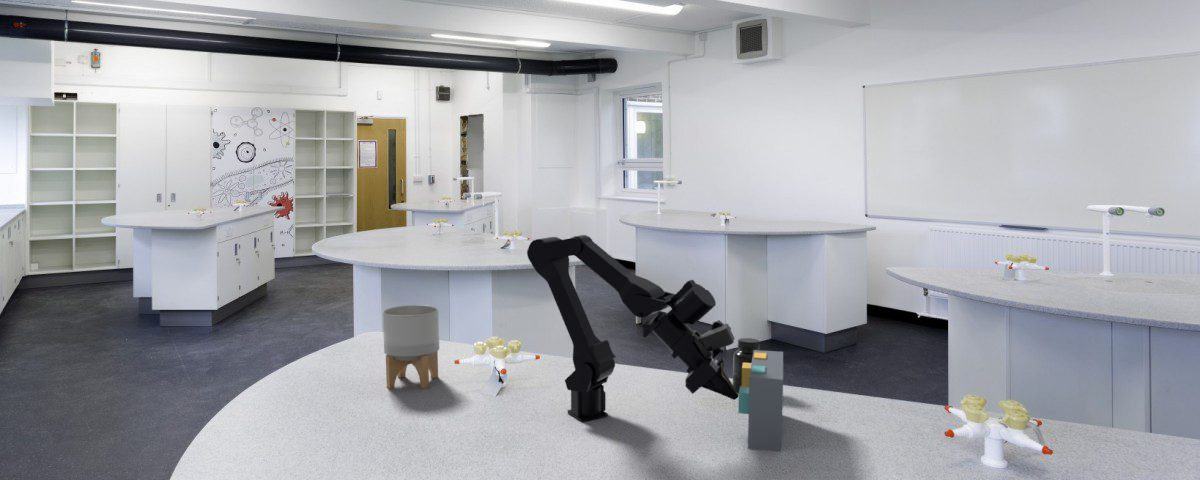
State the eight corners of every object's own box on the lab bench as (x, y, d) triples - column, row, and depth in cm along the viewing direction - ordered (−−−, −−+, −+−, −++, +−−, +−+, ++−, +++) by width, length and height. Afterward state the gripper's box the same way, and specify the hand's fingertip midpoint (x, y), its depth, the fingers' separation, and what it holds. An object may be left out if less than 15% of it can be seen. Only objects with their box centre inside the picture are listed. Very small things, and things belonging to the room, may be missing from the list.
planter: (423, 371, 181) (421, 302, 180) (450, 382, 172) (448, 310, 170) (375, 381, 173) (373, 310, 171) (401, 394, 163) (398, 318, 161)
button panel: (747, 448, 131) (749, 375, 130) (752, 412, 150) (753, 348, 149) (781, 451, 129) (783, 378, 128) (781, 414, 149) (783, 350, 147)
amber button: (741, 387, 143) (741, 367, 143) (742, 381, 147) (743, 362, 147) (759, 388, 142) (760, 368, 142) (760, 382, 146) (760, 363, 146)
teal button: (738, 413, 134) (738, 392, 133) (739, 406, 138) (740, 386, 137) (757, 414, 133) (758, 394, 132) (758, 407, 137) (759, 387, 136)
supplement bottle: (762, 396, 161) (763, 344, 160) (732, 394, 162) (733, 343, 161) (762, 387, 168) (763, 337, 166) (732, 385, 169) (733, 336, 168)
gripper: (703, 320, 126) (766, 385, 125) (713, 301, 144) (768, 357, 142) (660, 361, 129) (721, 424, 127) (675, 337, 147) (728, 393, 145)
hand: (736, 397), depth 135 cm, fingers closed
